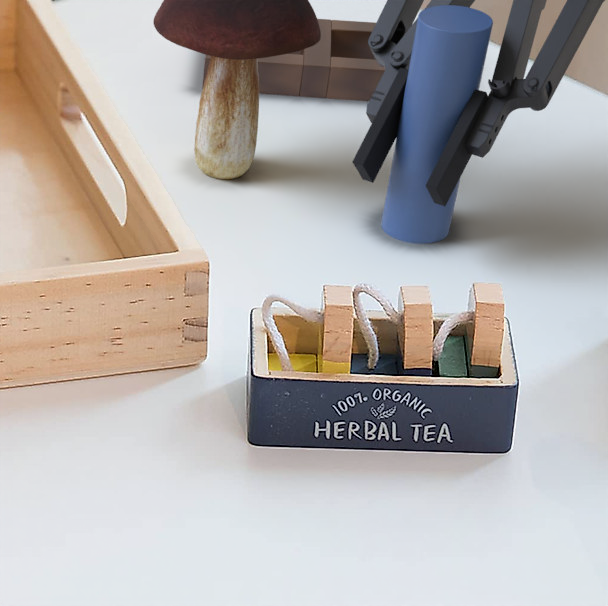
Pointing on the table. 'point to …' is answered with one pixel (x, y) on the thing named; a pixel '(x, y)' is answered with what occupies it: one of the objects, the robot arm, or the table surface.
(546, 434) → the table surface
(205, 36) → the decorative mushroom
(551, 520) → the table surface
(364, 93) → the rack
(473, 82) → the peg
